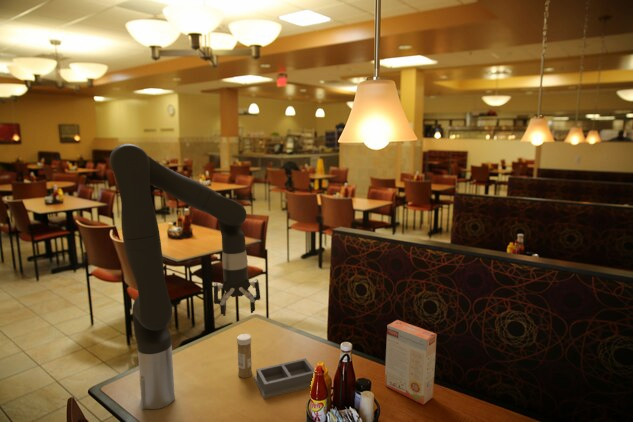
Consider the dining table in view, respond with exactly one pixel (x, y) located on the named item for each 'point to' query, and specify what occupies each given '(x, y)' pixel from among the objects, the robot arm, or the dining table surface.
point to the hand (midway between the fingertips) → (238, 313)
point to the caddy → (284, 378)
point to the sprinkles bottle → (244, 355)
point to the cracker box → (410, 361)
